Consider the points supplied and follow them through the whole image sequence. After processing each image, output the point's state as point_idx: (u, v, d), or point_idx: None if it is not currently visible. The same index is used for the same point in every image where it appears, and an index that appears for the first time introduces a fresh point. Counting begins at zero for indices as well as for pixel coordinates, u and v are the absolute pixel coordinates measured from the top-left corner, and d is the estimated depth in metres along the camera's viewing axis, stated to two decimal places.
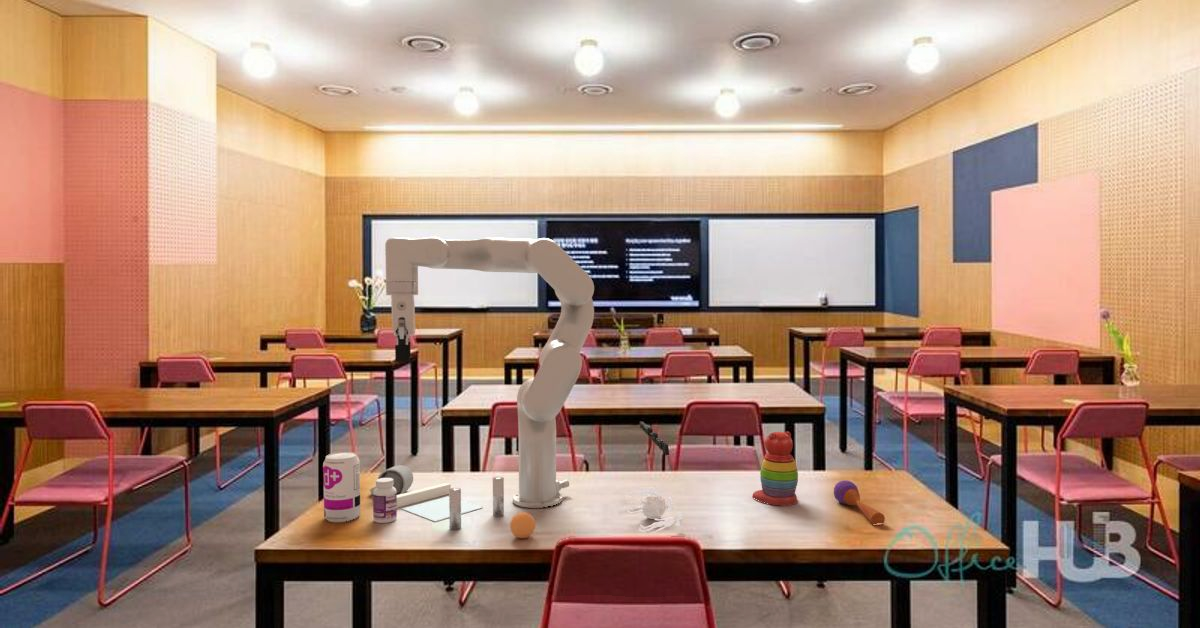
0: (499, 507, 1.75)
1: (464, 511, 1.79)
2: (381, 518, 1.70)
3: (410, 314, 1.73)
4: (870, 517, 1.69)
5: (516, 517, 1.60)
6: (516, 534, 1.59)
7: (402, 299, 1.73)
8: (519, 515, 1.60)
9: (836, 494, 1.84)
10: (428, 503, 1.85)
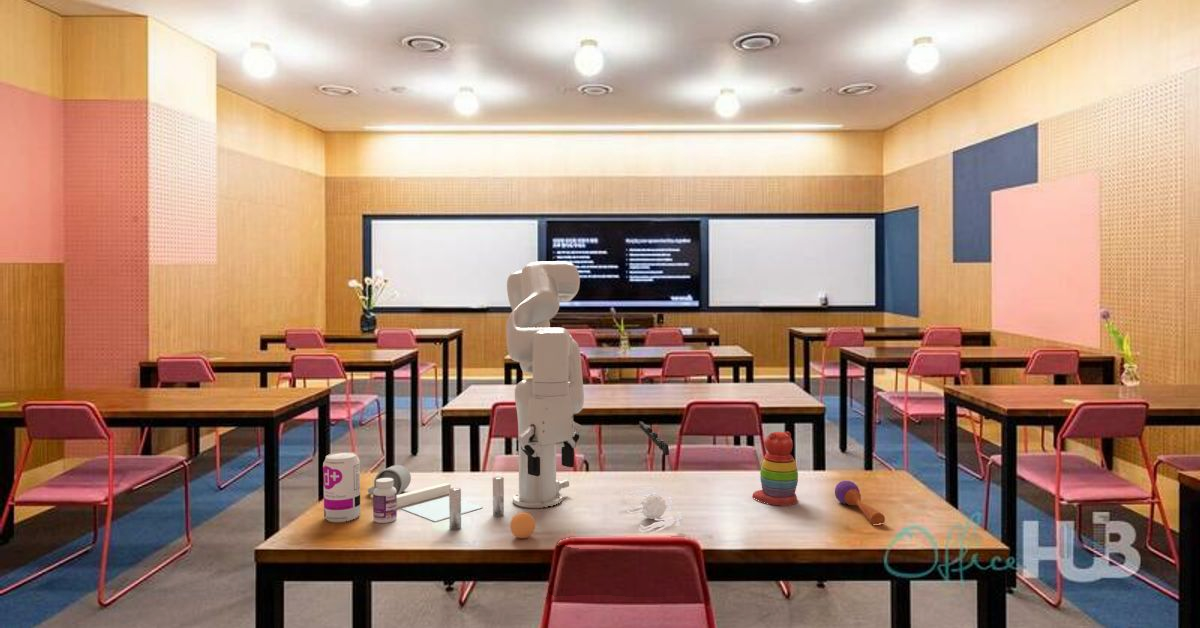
0: (499, 507, 1.75)
1: (464, 511, 1.79)
2: (381, 518, 1.70)
3: None
4: (870, 517, 1.69)
5: (516, 517, 1.60)
6: (516, 534, 1.59)
7: None
8: (519, 515, 1.60)
9: (837, 494, 1.84)
10: (428, 503, 1.85)
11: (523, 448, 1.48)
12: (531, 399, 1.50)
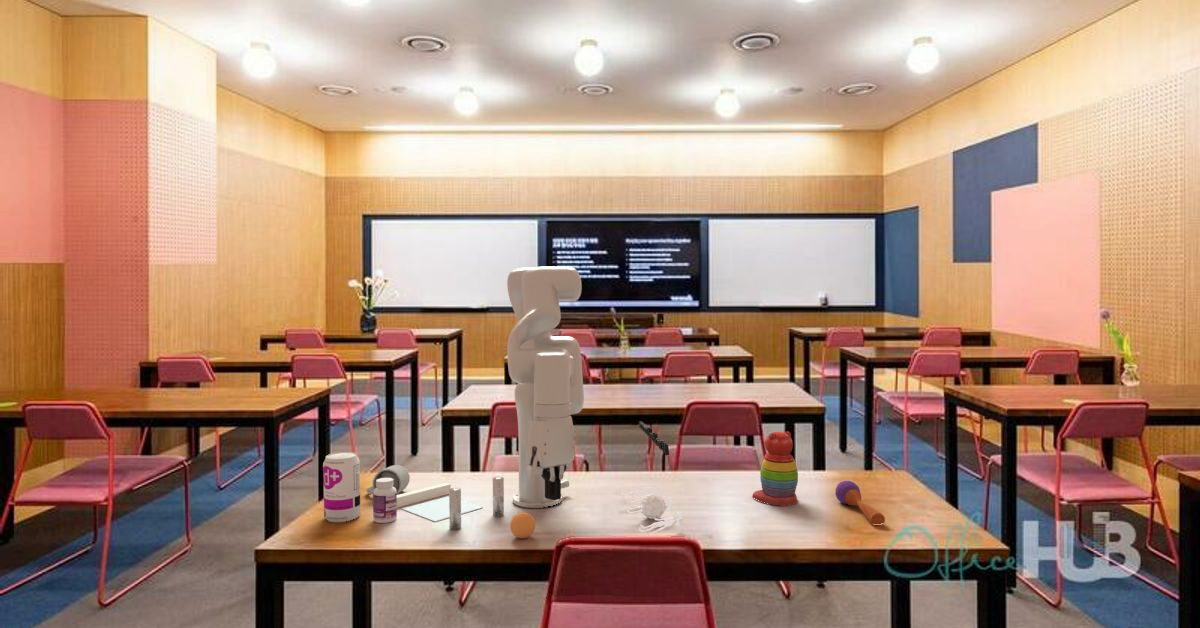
0: (499, 507, 1.75)
1: (464, 511, 1.79)
2: (381, 518, 1.70)
3: None
4: (870, 517, 1.69)
5: (516, 517, 1.60)
6: (516, 534, 1.59)
7: None
8: (519, 515, 1.60)
9: (838, 494, 1.84)
10: (428, 503, 1.85)
11: None
12: (533, 421, 1.50)
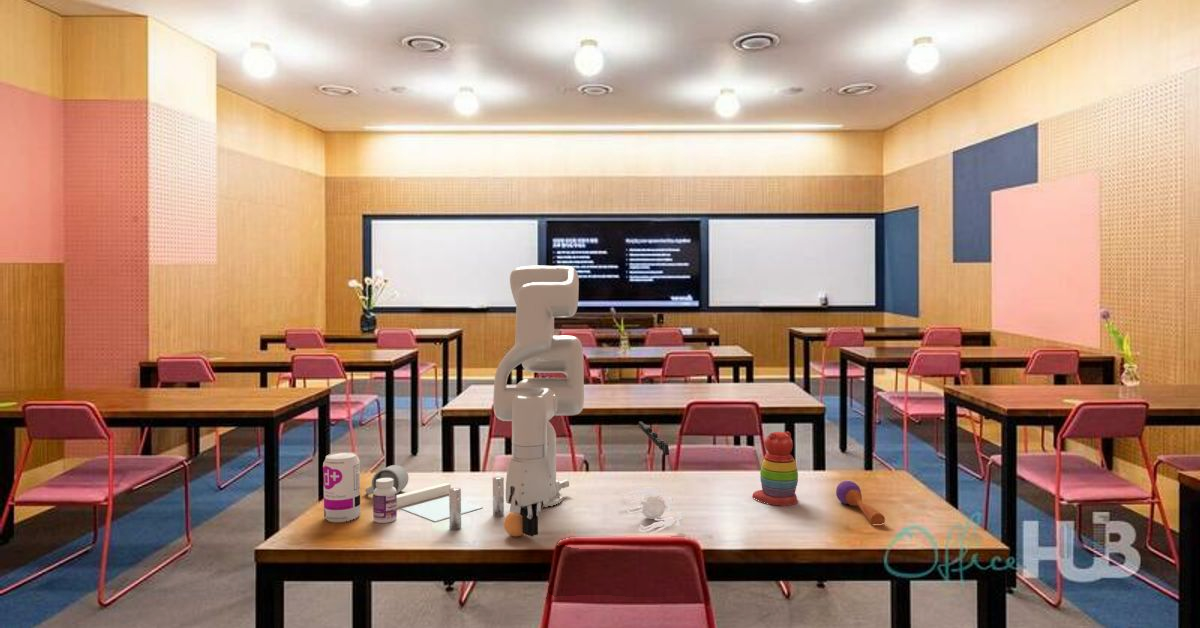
0: (499, 507, 1.75)
1: (464, 511, 1.79)
2: (381, 518, 1.70)
3: None
4: (870, 517, 1.69)
5: (506, 516, 1.62)
6: (511, 531, 1.60)
7: None
8: None
9: (838, 494, 1.84)
10: (428, 503, 1.85)
11: None
12: (511, 461, 1.56)
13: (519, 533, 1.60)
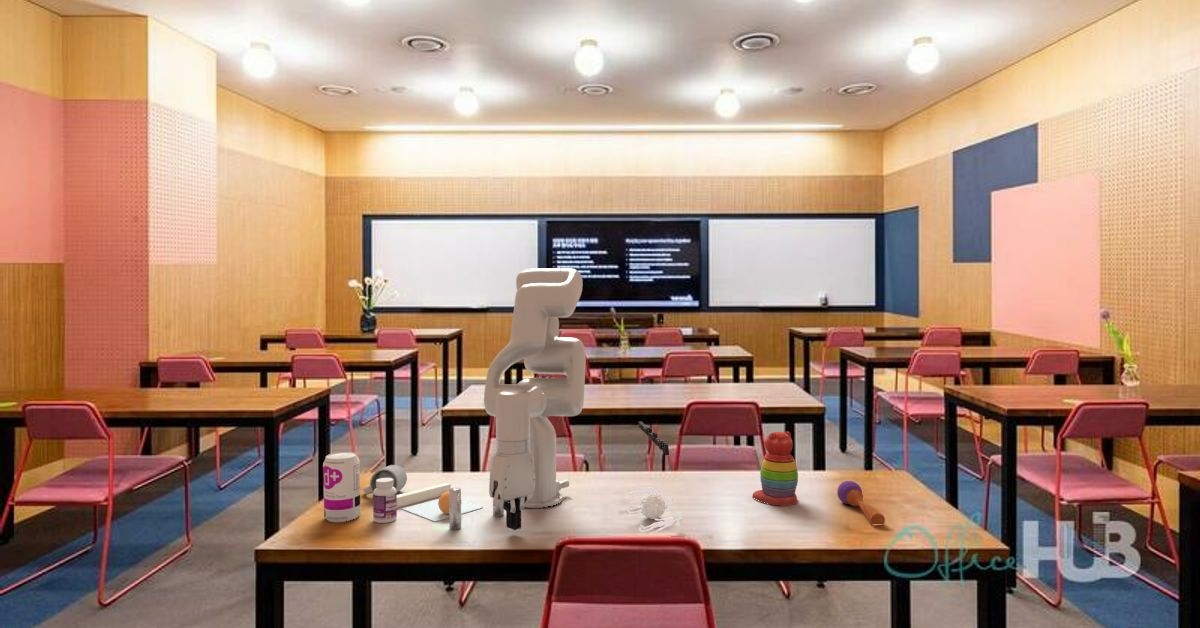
0: (499, 507, 1.75)
1: (464, 511, 1.79)
2: (381, 518, 1.70)
3: None
4: (870, 518, 1.68)
5: (442, 511, 1.76)
6: (442, 499, 1.75)
7: None
8: None
9: (839, 494, 1.84)
10: (428, 503, 1.85)
11: None
12: (494, 456, 1.60)
13: (447, 493, 1.76)
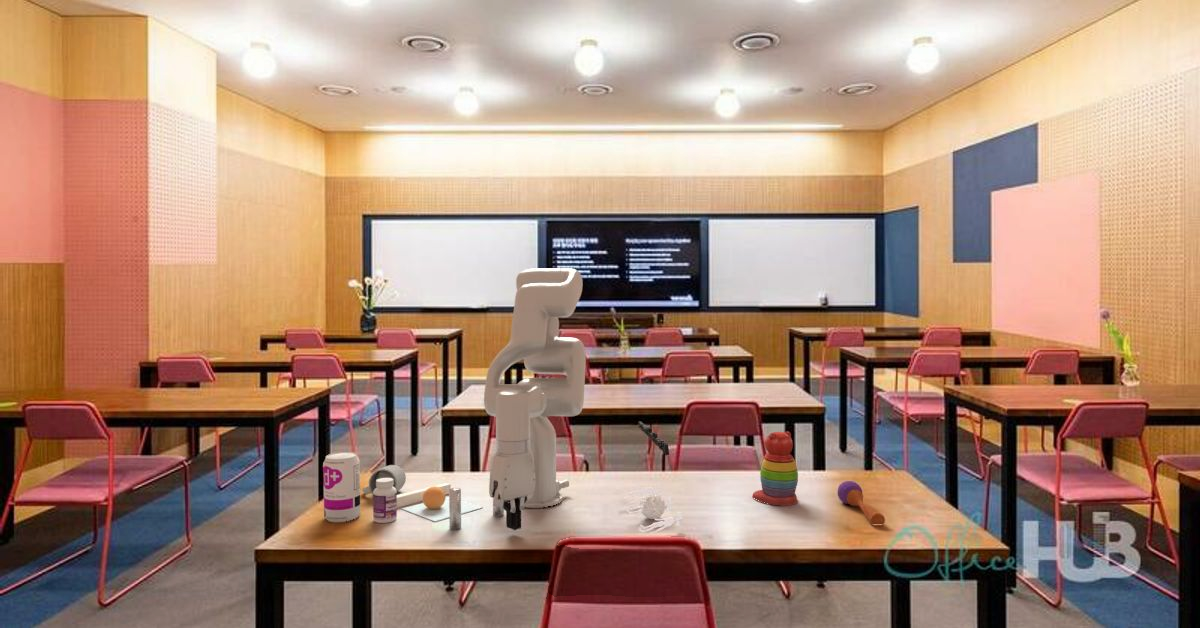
0: (499, 507, 1.75)
1: (464, 511, 1.79)
2: (381, 518, 1.70)
3: None
4: (870, 518, 1.68)
5: (433, 498, 1.78)
6: (423, 501, 1.80)
7: None
8: (436, 499, 1.79)
9: (840, 494, 1.84)
10: None
11: None
12: (494, 456, 1.60)
13: None
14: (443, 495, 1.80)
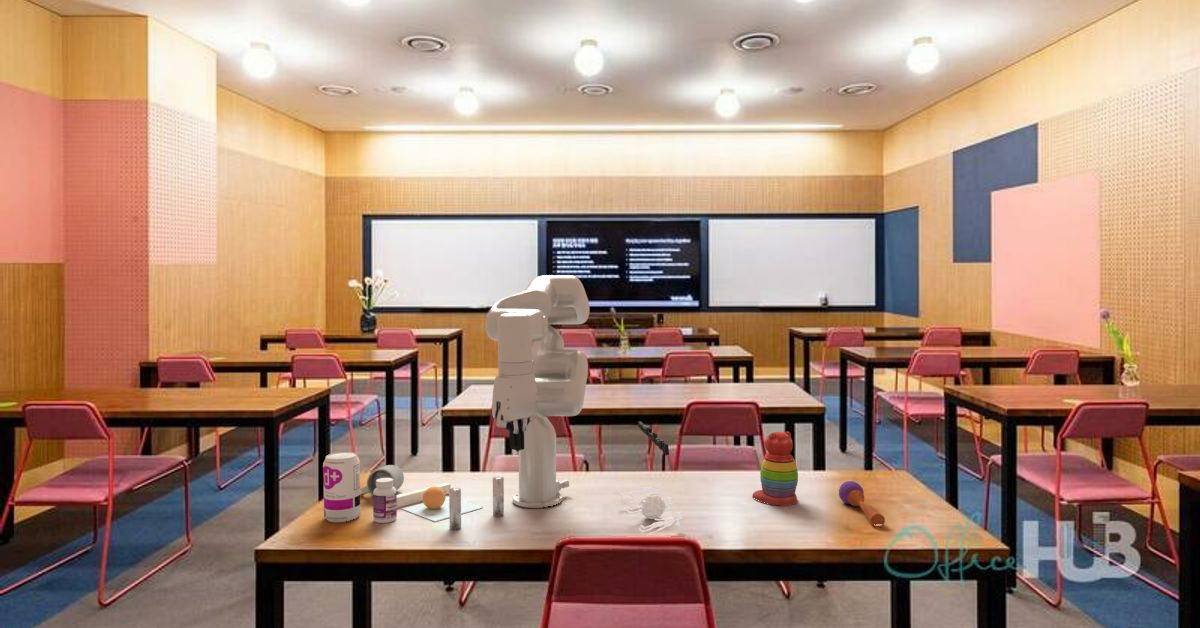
0: (499, 507, 1.75)
1: (464, 511, 1.79)
2: (381, 518, 1.70)
3: None
4: (870, 518, 1.68)
5: (433, 498, 1.78)
6: (423, 501, 1.80)
7: None
8: (436, 499, 1.79)
9: (841, 494, 1.84)
10: None
11: None
12: (496, 378, 1.60)
13: None
14: (443, 495, 1.80)
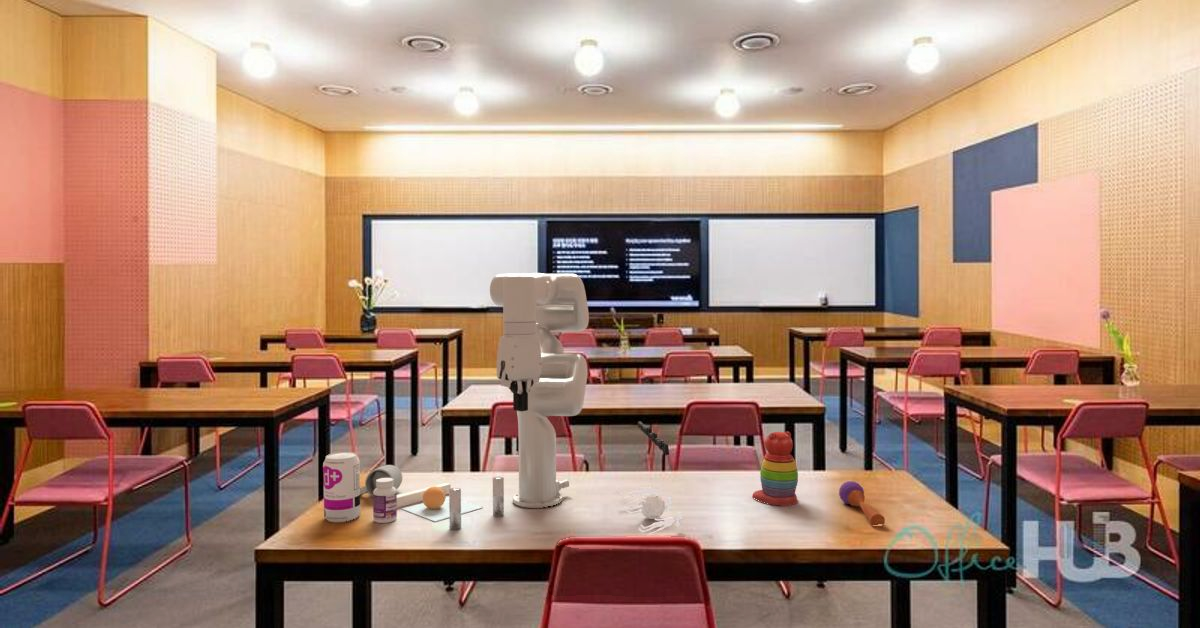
0: (499, 507, 1.75)
1: (464, 511, 1.79)
2: (381, 518, 1.70)
3: None
4: (870, 518, 1.68)
5: (433, 498, 1.78)
6: (423, 501, 1.80)
7: None
8: (436, 499, 1.79)
9: (841, 494, 1.84)
10: None
11: None
12: (501, 338, 1.63)
13: None
14: (443, 495, 1.80)
